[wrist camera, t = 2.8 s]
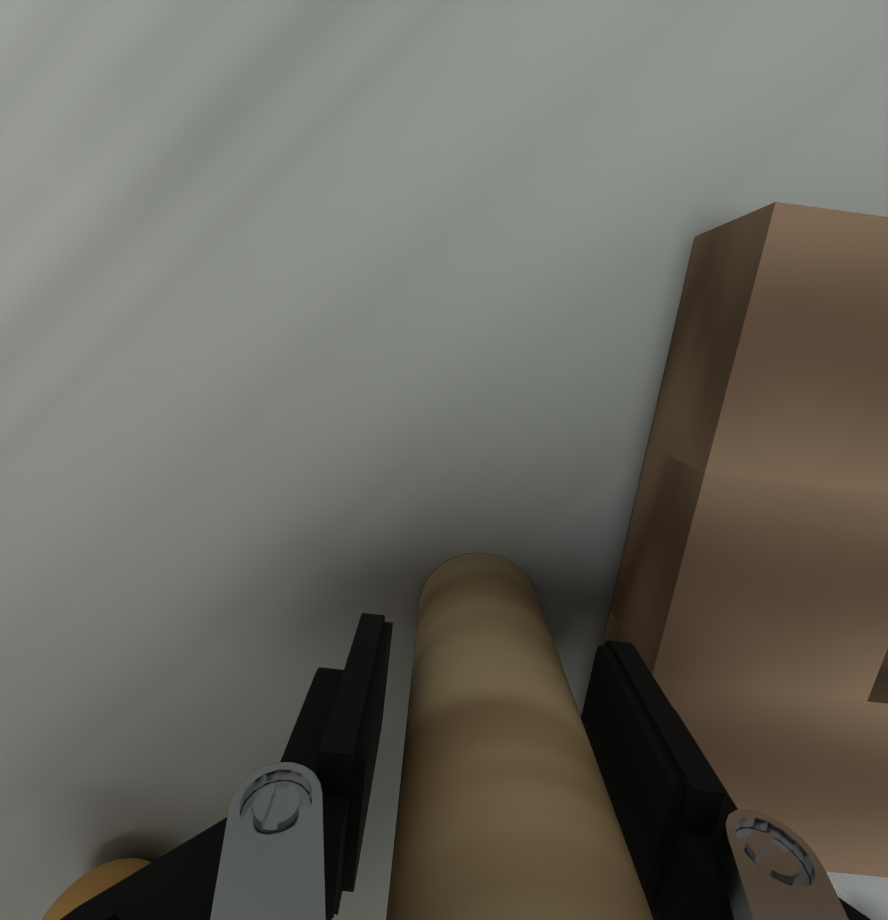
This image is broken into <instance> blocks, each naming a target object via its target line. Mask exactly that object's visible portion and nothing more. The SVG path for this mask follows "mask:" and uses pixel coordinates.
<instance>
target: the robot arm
mask: <svg viewBox="0 0 888 920" xmlns="http://www.w3.org/2000/svg"><path fill="white" fill-rule="evenodd" d="M392 626H393V623H391V622H385V616H384V615H375V614H366V613H362V615H361V618H360V621H359V624H358V628H357V631H356V634H355V637H354V640H353V643H352V647H351V650H350V653H349V656H348V659H347V663H346V666H345V669H344V670H339V669H330V668H321V667H319V668H318V670H317V672H316V674H315V676H314V679H313V681H312V684H311V686H310V689H309V691H308V694H307V696H306V699H305V701H304V704H303V706H302V709H301V711H300V714H299V717H298V719H297V722H296V724H295V727H294V729H293V732H292V734H291V737H290V739H289V742H288V744H287V747H286V749H285V752H284V754H283V757H282V759H281V762H279V763H275V764H271V765H267V766H264V767H262V768H260V769H259V770H257V771H255V772H253V773H252V774H251V775H249V776H248V777H247V778H246V779H245V780H243V781H242V782H241V784H240V785H239V787H238V788H237V790H236V791H235V792H234V794H233V797H232V800H231V803H230V806H229V811H228V817H227V818H225V819H224V820H222V821H220V822H218V823H217V824H215V825H213V826H212V827H210V828H208V829H207V830H205V831H203V832H202V833H200V834H198V835H197V836H195V837H193V838H192V839H190V840H188V841H187V842H185V843H183V844H182V845H180V846H178V847H177V848H175V849H173V850H172V851H170V852H168V853H167V854H165V855H163V856H162V857H160V858H158V859H157V860H155V861H153V862H151V863H150V864H148V865H146V866H145V867H143V868H141V869H140V870H138V871H136V872H135V873H133V874H131V875H130V876H128V877H126V878H125V879H123V880H121V881H120V882H118V883H116V884H115V885H113V886H111V887H110V888H108V889H106V890H105V891H103V892H101V893H100V894H98V895H96V896H95V897H93V898H91V899H90V900H88V901H86V902H84V903H83V904H81V905H79V906H78V907H76V908H75V909H74V910H72V911H71V912H69V913H68V914H67V915H65V916H64V917H63V918H61V919H60V920H331V919H332V918H333V917H334V914H337V915H338V911H339V906H340V900H341V895H342V891H349V892H353V891H354V886H355V881H356V875H357V869H358V863H359V857H360V851H361V845H362V839H363V833H364V828H365V822H366V816H367V810H368V804H369V798H370V792H371V786H372V780H373V774H374V768H375V762H376V756H377V751H378V745H379V739H380V733H381V726H382V718H383V709H384V700H385V691H386V682H387V672H388V663H389V654H390V645H391V635H392ZM581 720H582V723H583V725H584V728H585V731H586V734H587V736H588V739H589V742H590V745H591V748H592V750H593V753H594V756H595V759H596V761H597V764H598V767H599V770H600V772H601V775H602V778H603V781H604V784H605V786H606V789H607V792H608V795H609V797H610V800H611V803H612V806H613V809H614V811H615V814H616V817H617V820H618V822H619V825H620V828H621V831H622V834H623V836H624V839H625V842H626V845H627V847H628V850H629V853H630V856H631V858H632V861H633V864H634V867H635V870H636V872H637V875H638V878H639V881H640V883H641V886H642V889H643V892H644V895H645V897H646V900H647V903H648V906H649V908H650V911H651V914H652V917H653V920H870V919H869V918H868V917H866V916H865V915H863V914H862V913H860V912H859V911H857V910H856V909H855V908H853V907H852V906H850V905H849V904H847V903H846V902H844V901H843V900H842V899H840V898H839V897H838V896H837V894H836V892H835V890H834V888H833V886H832V884H831V882H830V879H829V877H828V875H827V873H826V871H825V869H824V867H823V865H822V864H821V862H820V860H819V859H818V857H817V856H816V854H815V852H814V851H813V850H812V849H811V848H810V847H809V846H808V844H807V843H806V842H805V841H804V840H803V839H802V838H801V837H800V836H798V835H797V834H796V833H795V832H794V831H793V830H791V829H790V828H789V827H788V826H786V825H784V824H783V823H781V822H780V821H778V820H776V819H775V818H773V817H771V816H768V815H766V814H764V813H761V812H759V811H754V810H749V809H741V810H738V808H737V807H736V805H735V803H734V802H733V800H732V799H731V797H730V795H729V794H728V792H727V791H726V789H725V788H724V786H723V784H722V783H721V781H720V780H719V778H718V776H717V775H716V773H715V772H714V770H713V768H712V767H711V765H710V764H709V762H708V760H707V759H706V757H705V756H704V754H703V753H702V751H701V749H700V748H699V746H698V745H697V743H696V741H695V740H694V738H693V737H692V735H691V733H690V732H689V730H688V729H687V727H686V725H685V724H684V722H683V721H682V719H681V717H680V716H679V714H678V713H677V712H676V710H675V709H674V708H673V707H672V706H671V704H670V702H669V701H668V699H667V698H666V696H665V694H664V693H663V691H662V690H661V688H660V686H659V685H658V683H657V682H656V680H655V678H654V677H653V675H652V674H651V672H650V670H649V669H648V667H647V666H646V664H645V662H644V661H643V659H642V658H641V656H640V654H639V653H638V651H637V650H636V648H635V646H634V645H633V644H632V643H628V642H619V641H610V640H608V641H606V642H605V644H604V646H598V648H597V650H596V654H595V659H594V663H593V668H592V672H591V677H590V681H589V686H588V690H587V694H586V699H585V703H584V708H583V712H582V717H581Z"/></svg>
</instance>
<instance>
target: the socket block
mask: <svg viewBox="0 0 888 920" xmlns="http://www.w3.org/2000/svg"><path fill="white" fill-rule="evenodd" d="M608 640H610V641H619V642H628V643H632V644H633V645H634V646H635V648H636V650H637V651H638V653H639V654H640V656H641V658H642V659H643V661H644V662H645V664H646V666H647V667H648V669H649V670H650V672H651V674H652V675H653V677H654V678H655V680H656V682H657V683H658V685H659V686H660V688H661V690H662V691H663V693H664V694H665V696H666V698H667V699H668V701H669V702H670V704H671V706H672V707H673V708H674V709H675V710H676V712H677V713H678V714H679V716H680V717H681V719H682V721H683V722H684V724H685V725H686V727H687V729H688V730H689V732H690V733H691V735H692V737H693V738H694V740H695V741H696V743H697V745H698V746H699V748H700V749H701V751H702V753H703V754H704V756H705V757H706V759H707V760H708V762H709V764H710V765H711V767H712V768H713V770H714V772H715V773H716V775H717V776H718V778H719V780H720V781H721V783H722V784H723V786H724V788H725V789H726V791H727V792H728V794H729V795H730V797H731V799H732V800H733V802H734V803H735V805H736V807H737V808H738V810H741V809H749V810H754V811H759V812H761V813H764V814H766V815H768V816H771V817H773V818H775V819H776V820H778V821H780V822H781V823H783V824H784V825H786V826H788V827H789V828H790V829H791V830H793V831H794V832H795V833H796V834H797V835H798V836H800V837H801V838H802V839H803V840H804V841H805V842H806V843H807V844H808V846H809V847H810V848H811V849H812V850H813V851H814V852H815V854H816V856H817V857H818V859H819V860H820V862H821V864H822V865H823V867H824V869H825V871H829V872H839V873H849V874H859V875H869V876H879V877H888V217H882V216H875V215H868V214H860V213H853V212H845V211H838V210H831V209H823V208H816V207H808V206H801V205H793V204H786V203H779V202H775V203H772V204H770V205H768V206H765V207H763V208H761V209H758V210H756V211H754V212H751V213H749V214H747V215H744V216H742V217H740V218H738V219H735V220H733V221H731V222H728V223H726V224H724V225H721V226H719V227H717V228H714V229H712V230H710V231H707V232H705V233H703V234H701V235H698V236H696V237H695V241H694V245H693V250H692V254H691V258H690V263H689V267H688V271H687V276H686V280H685V285H684V289H683V293H682V298H681V302H680V307H679V311H678V315H677V320H676V324H675V328H674V333H673V337H672V342H671V346H670V350H669V355H668V359H667V364H666V368H665V372H664V377H663V381H662V385H661V390H660V394H659V399H658V403H657V407H656V412H655V416H654V421H653V425H652V429H651V434H650V438H649V442H648V447H647V451H646V456H645V460H644V464H643V469H642V473H641V478H640V482H639V486H638V491H637V495H636V500H635V504H634V508H633V513H632V517H631V521H630V526H629V530H628V535H627V539H626V543H625V548H624V552H623V557H622V561H621V565H620V570H619V574H618V578H617V583H616V587H615V592H614V596H613V600H612V605H611V609H610V614H609V618H608V622H607V627H606V631H605V635H604V640H603V644H602V646H604V644H605V642H606V641H608Z"/></svg>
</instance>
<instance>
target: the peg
mask: <svg viewBox="0 0 888 920" xmlns="http://www.w3.org/2000/svg"><path fill="white" fill-rule="evenodd" d="M386 920H653V917H652V914H651V911H650V908H649V906H648V903H647V900H646V897H645V895H644V892H643V889H642V886H641V883H640V881H639V878H638V875H637V872H636V870H635V867H634V864H633V861H632V858H631V856H630V853H629V850H628V847H627V845H626V842H625V839H624V836H623V834H622V831H621V828H620V825H619V822H618V820H617V817H616V814H615V811H614V809H613V806H612V803H611V800H610V797H609V795H608V792H607V789H606V786H605V784H604V781H603V778H602V775H601V772H600V770H599V767H598V764H597V761H596V759H595V756H594V753H593V750H592V748H591V745H590V742H589V739H588V736H587V734H586V731H585V728H584V725H583V723H582V720H581V717H580V714H579V711H578V709H577V706H576V703H575V700H574V698H573V695H572V692H571V689H570V686H569V684H568V681H567V678H566V675H565V673H564V670H563V667H562V664H561V662H560V659H559V656H558V653H557V650H556V648H555V645H554V642H553V639H552V637H551V634H550V631H549V628H548V625H547V623H546V620H545V617H544V614H543V612H542V609H541V606H540V603H539V600H538V598H537V595H536V592H535V589H534V587H533V585H532V583H531V581H530V579H529V578H528V576H527V575H526V574H525V573H524V572H523V571H522V569H520V568H519V567H518V566H517V565H516V564H514V563H512V562H511V561H509V560H507V559H505V558H503V557H500V556H497V555H493V554H487V553H471V554H466V555H461V556H458V557H455V558H453V559H451V560H449V561H447V562H445V563H444V564H442V565H441V566H440V567H438V568H437V569H436V570H435V571H434V572H433V573H432V574H431V575H430V577H429V578H428V580H427V581H426V583H425V585H424V587H423V589H422V592H421V596H420V601H419V610H418V620H417V629H416V639H415V649H414V658H413V668H412V677H411V687H410V696H409V706H408V716H407V725H406V735H405V744H404V754H403V764H402V773H401V783H400V792H399V802H398V812H397V821H396V831H395V840H394V850H393V859H392V869H391V879H390V888H389V898H388V907H387V917H386Z"/></svg>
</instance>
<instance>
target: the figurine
mask: <svg viewBox="0 0 888 920" xmlns="http://www.w3.org/2000/svg"><path fill="white" fill-rule="evenodd" d="M150 863H151V862H150V861H147V860H144V859H139V858H123V859H117V860H113V861H110V862H107V863H105V864H102V865H100V866H98V867H96V868H94V869H92V870H91V871H89V872H87V873H86V874H84V875H83V876H82V877H80V878H79V879H78V880H76V881H75V882H74V883H73V884H72V885H70V886H69V887H68V888H67V889H66V890H65V891H64V892H63V893H62V894H61V895H60V896H59V897H58V899H57V900H56V901H55V902H54V903H53V905H52V906H51V907H50V909H49V910H48V911H47V913H46V914H45V916H44V917H43V919H42V920H60V919H61V918H63V917H64V916H65V915H67V914H68V913H69V912H71V911H72V910H74V909H75V908H76V907H78V906H79V905H81V904H83V903H84V902H86V901H88V900H90V899H91V898H93V897H95V896H96V895H98V894H100V893H101V892H103V891H105V890H106V889H108V888H110V887H111V886H113V885H115V884H116V883H118V882H120V881H121V880H123V879H125V878H126V877H128V876H130V875H131V874H133V873H135V872H136V871H138V870H140V869H141V868H143V867H145V866H146V865H148V864H150Z"/></svg>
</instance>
